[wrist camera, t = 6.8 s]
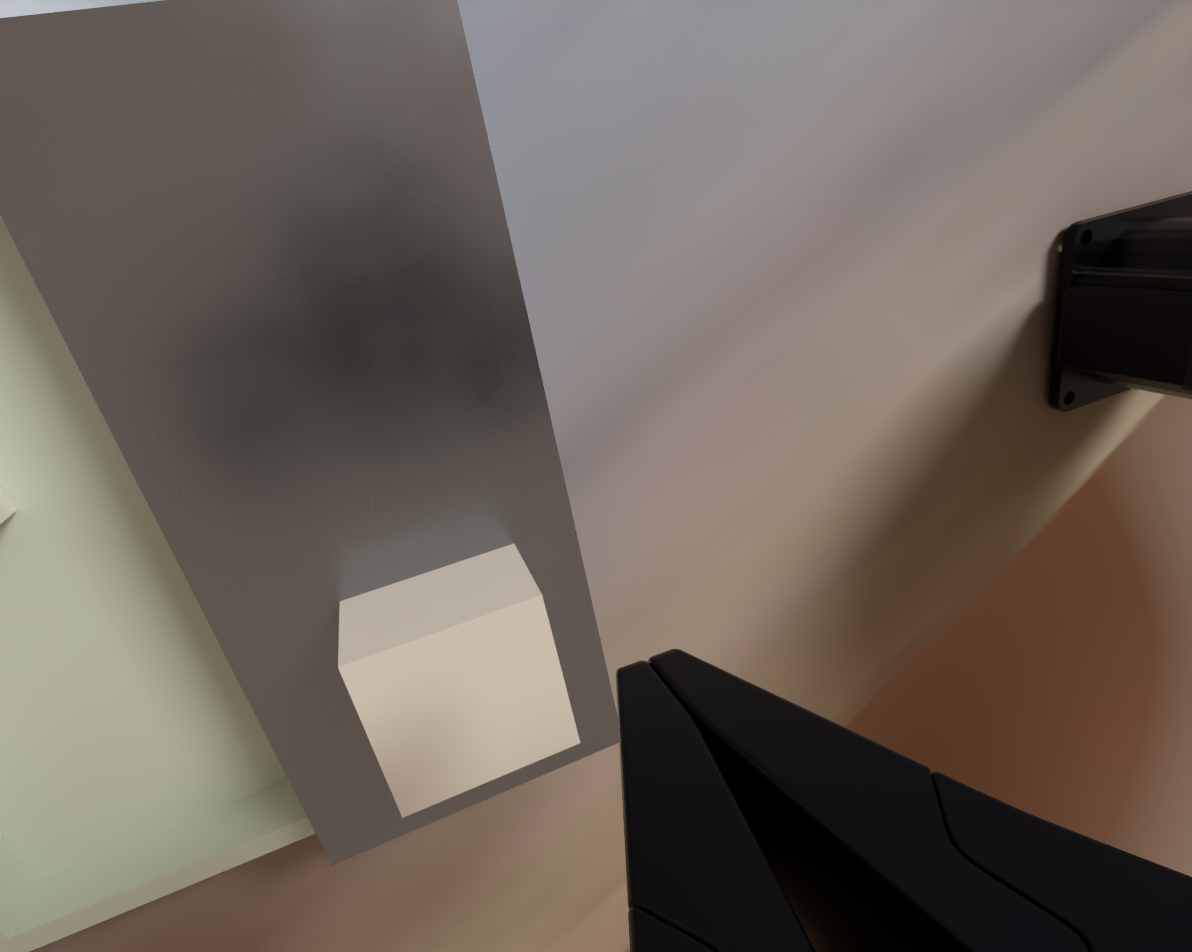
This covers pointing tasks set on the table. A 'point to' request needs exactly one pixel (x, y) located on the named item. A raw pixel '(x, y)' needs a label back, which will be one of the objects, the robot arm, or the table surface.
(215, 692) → the box
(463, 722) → the tile
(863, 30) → the table surface
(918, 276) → the table surface
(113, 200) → the plate
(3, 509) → the tile
